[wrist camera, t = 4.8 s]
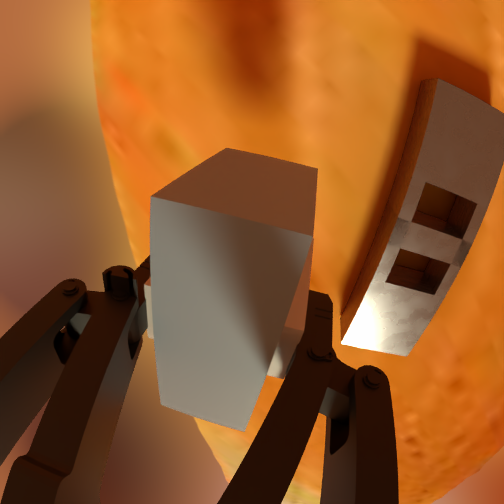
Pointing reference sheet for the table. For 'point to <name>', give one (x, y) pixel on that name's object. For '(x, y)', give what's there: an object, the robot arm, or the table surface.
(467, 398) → the table surface
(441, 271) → the block with rectangular hole
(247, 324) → the upright grey box
